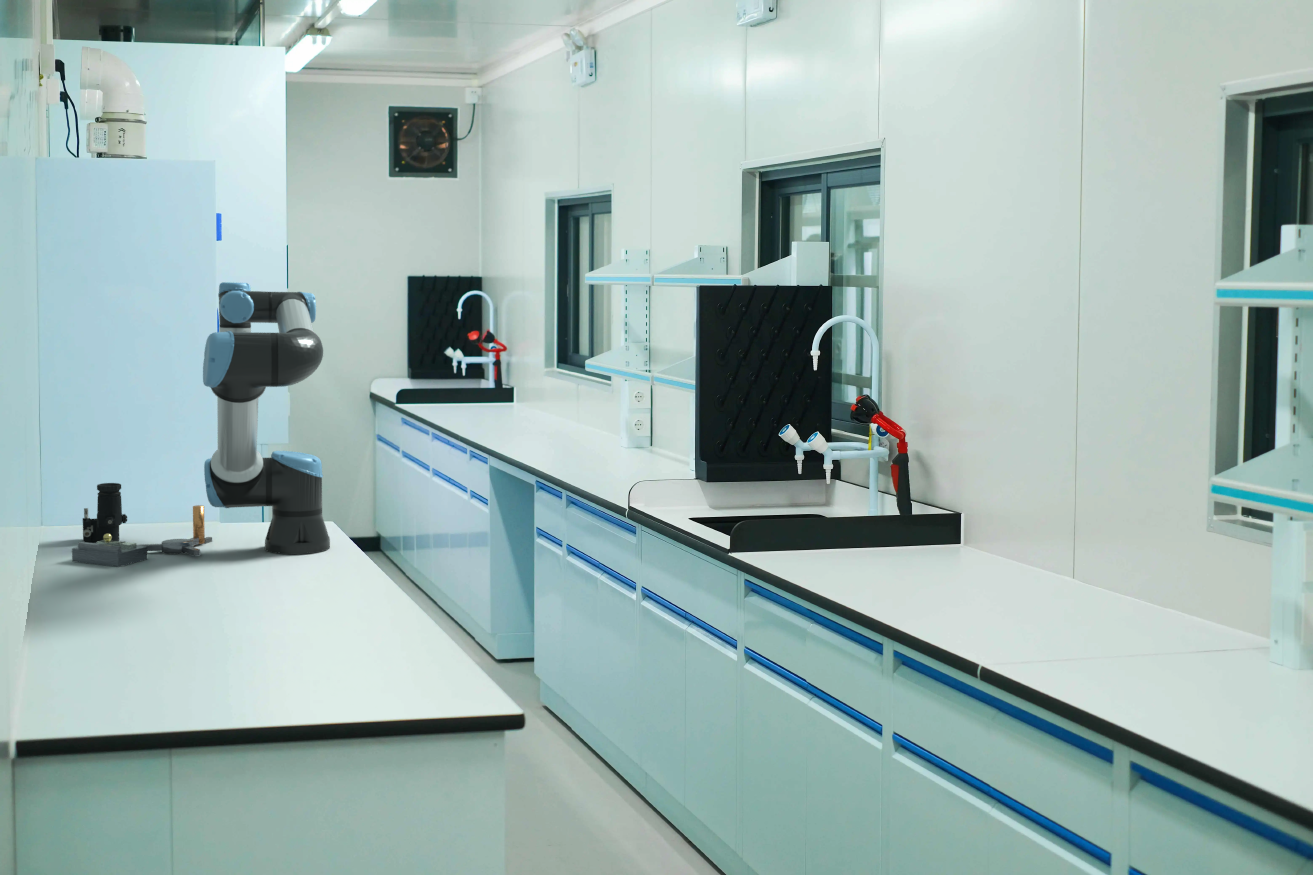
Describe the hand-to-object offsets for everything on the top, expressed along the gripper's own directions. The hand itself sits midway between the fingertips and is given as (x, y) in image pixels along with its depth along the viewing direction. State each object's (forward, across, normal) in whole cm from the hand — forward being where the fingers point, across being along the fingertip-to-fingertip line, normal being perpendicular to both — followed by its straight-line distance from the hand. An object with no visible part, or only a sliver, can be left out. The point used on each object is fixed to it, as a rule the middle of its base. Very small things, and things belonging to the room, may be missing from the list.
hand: (236, 439), depth 319 cm
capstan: (+24, -19, 0) cm, 31 cm away
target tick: (+24, -10, +2) cm, 26 cm away
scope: (+25, -19, +24) cm, 39 cm away
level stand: (+24, -36, +7) cm, 44 cm away
